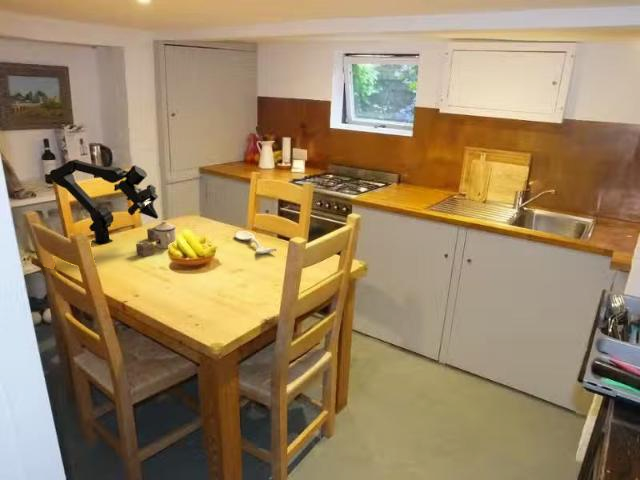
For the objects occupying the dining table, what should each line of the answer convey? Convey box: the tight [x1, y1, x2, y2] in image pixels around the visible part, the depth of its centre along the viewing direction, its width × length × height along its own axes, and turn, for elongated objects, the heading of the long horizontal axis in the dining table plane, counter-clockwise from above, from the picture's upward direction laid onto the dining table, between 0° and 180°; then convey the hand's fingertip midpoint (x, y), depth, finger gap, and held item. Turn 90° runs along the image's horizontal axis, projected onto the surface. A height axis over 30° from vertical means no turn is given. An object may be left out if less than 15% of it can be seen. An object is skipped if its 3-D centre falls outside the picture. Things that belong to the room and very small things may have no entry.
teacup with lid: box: [154, 220, 176, 250], centre depth 207 cm, size 12×9×12 cm
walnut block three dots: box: [146, 226, 156, 242], centre depth 217 cm, size 5×5×5 cm
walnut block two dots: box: [135, 240, 155, 259], centre depth 198 cm, size 5×5×5 cm
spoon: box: [234, 230, 278, 255], centre depth 215 cm, size 9×32×4 cm, turn 31°
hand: (157, 217), depth 205 cm, fingers closed
